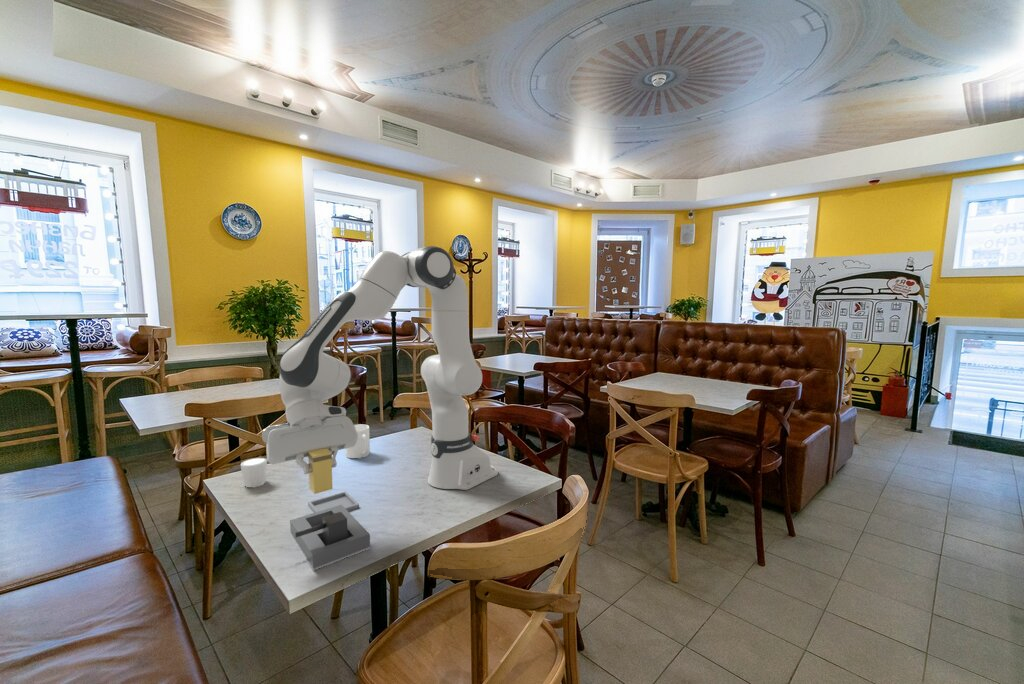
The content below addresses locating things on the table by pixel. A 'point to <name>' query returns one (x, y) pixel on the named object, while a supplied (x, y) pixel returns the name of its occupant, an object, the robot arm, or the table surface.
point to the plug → (320, 470)
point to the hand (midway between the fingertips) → (321, 469)
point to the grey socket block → (329, 536)
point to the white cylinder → (254, 472)
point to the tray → (333, 502)
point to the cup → (360, 443)
